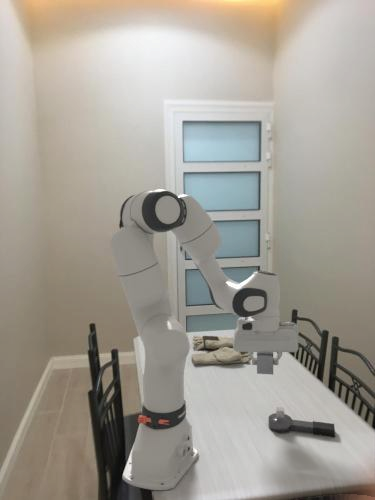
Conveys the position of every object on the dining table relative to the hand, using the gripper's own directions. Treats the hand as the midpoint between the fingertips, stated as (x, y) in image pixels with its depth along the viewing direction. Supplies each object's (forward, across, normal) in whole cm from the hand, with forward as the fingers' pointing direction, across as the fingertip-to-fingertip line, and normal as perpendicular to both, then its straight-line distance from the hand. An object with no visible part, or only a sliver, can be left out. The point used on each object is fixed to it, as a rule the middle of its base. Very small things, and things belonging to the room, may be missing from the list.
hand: (265, 364), depth 128 cm
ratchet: (+17, -10, +8) cm, 21 cm away
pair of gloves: (+18, +13, -53) cm, 58 cm away
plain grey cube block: (+2, 0, 0) cm, 2 cm away
